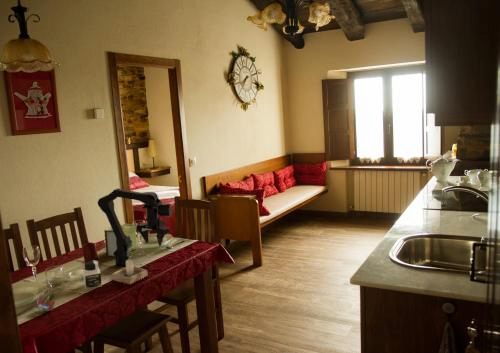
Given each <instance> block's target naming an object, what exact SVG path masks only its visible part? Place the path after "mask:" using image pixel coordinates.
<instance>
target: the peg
mask: <svg viewBox="0 0 500 353" xmlns="http://www.w3.org/2000/svg"><path fill="white" fill-rule="evenodd" d="M134 267H135V266H134V260H133V259H130V260H126V267H125V268H126V273H127V277H132V276H134Z"/></svg>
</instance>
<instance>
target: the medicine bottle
mask: <svg viewBox="0 0 500 353" xmlns="http://www.w3.org/2000/svg"><path fill="white" fill-rule="evenodd" d="M83 281H84V283H85V284H84V287H85V289H86V290H90V289H95V288H96V289H97V288H100V287H102V286H103V283H102V272H101V270H100V268H99V261H98V260H94V259H93V260H87V261H86V262H85V263H84V270H83Z"/></svg>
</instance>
